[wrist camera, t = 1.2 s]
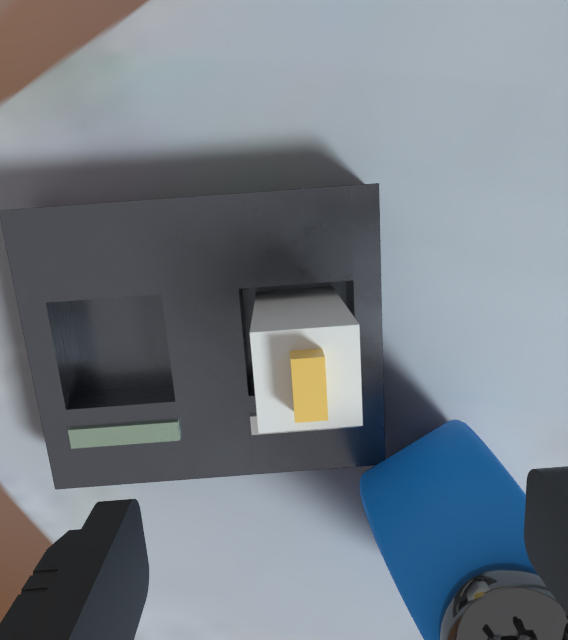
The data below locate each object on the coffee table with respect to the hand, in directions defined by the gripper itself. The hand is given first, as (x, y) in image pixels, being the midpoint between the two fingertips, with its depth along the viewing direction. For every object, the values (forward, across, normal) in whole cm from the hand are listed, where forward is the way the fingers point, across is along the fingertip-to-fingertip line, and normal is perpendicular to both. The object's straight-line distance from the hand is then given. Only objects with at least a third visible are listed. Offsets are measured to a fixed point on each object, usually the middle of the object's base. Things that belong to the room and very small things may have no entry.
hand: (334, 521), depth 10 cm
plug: (+16, 0, 0) cm, 17 cm away
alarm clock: (+17, -8, +11) cm, 22 cm away
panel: (+17, +4, 0) cm, 18 cm away
